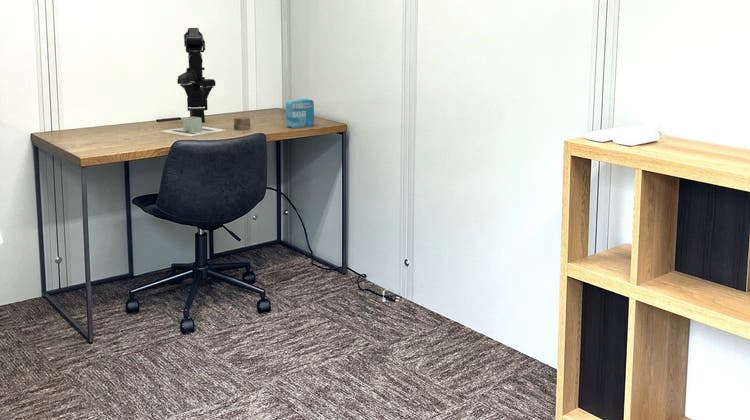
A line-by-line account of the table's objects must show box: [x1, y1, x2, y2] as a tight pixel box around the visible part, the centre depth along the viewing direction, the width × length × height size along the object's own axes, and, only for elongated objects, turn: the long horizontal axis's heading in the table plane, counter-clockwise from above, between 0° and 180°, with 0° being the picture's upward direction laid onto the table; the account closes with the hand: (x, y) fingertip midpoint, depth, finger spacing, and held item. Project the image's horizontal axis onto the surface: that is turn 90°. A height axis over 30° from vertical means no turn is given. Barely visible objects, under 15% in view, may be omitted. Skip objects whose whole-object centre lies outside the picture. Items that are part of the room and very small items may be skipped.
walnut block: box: [233, 116, 251, 134], centre depth 399 cm, size 5×5×6 cm
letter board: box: [161, 126, 225, 137], centre depth 396 cm, size 20×20×1 cm
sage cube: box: [182, 116, 203, 132], centre depth 395 cm, size 6×6×6 cm
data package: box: [285, 98, 315, 129], centre depth 412 cm, size 12×4×12 cm, turn 123°
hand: (197, 101), depth 397 cm, fingers open, 9 cm apart
